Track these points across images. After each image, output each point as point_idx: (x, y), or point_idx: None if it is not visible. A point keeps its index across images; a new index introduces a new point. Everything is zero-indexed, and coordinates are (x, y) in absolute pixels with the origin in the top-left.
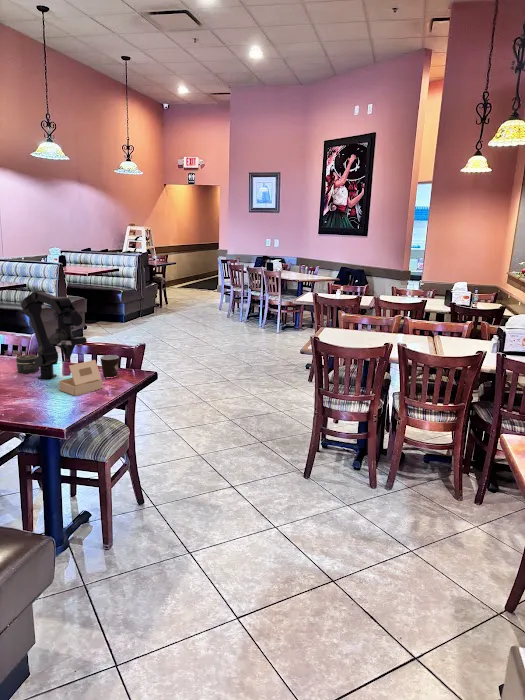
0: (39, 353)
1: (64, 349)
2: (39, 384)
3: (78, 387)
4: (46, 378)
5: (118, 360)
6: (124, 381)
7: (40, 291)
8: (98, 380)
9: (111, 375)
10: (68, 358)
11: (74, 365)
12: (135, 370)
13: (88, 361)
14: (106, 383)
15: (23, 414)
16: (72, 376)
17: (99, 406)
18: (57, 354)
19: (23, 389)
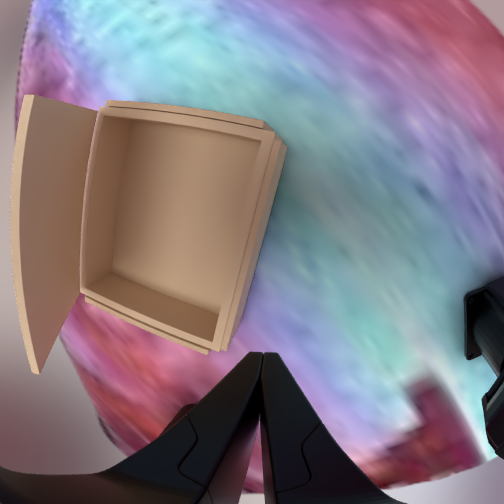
0: None
1: (270, 485)
2: (471, 188)
3: (98, 129)
4: (487, 287)
5: None
6: (119, 385)
7: None
8: (100, 291)
9: (175, 416)
10: (242, 359)
11: (19, 152)
12: None
13: (19, 315)
14: (149, 348)
15: None
16: (75, 105)
17: (20, 101)
18: (495, 443)
19: (474, 78)
